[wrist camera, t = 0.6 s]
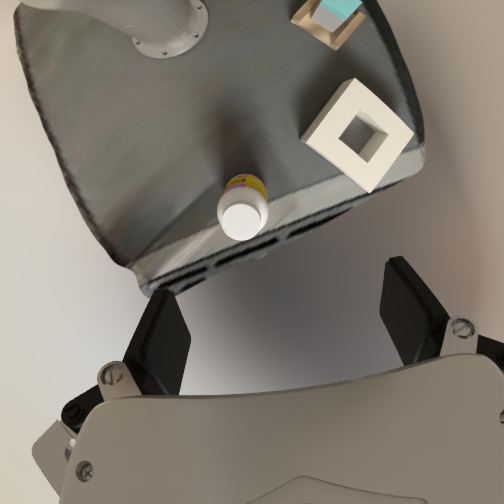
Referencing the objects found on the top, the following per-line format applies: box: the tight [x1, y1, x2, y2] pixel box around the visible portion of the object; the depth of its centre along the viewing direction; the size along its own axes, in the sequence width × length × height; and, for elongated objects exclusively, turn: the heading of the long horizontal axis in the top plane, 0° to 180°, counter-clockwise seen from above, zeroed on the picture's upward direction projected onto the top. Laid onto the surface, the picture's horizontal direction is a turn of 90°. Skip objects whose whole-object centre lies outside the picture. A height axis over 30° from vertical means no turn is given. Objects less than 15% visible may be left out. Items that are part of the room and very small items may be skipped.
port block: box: [300, 78, 414, 193], centre depth 35 cm, size 12×12×6 cm
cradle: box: [291, 0, 366, 51], centre depth 28 cm, size 8×8×3 cm
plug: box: [311, 0, 362, 33], centre depth 25 cm, size 4×4×8 cm
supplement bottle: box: [217, 174, 268, 240], centre depth 37 cm, size 7×7×13 cm
